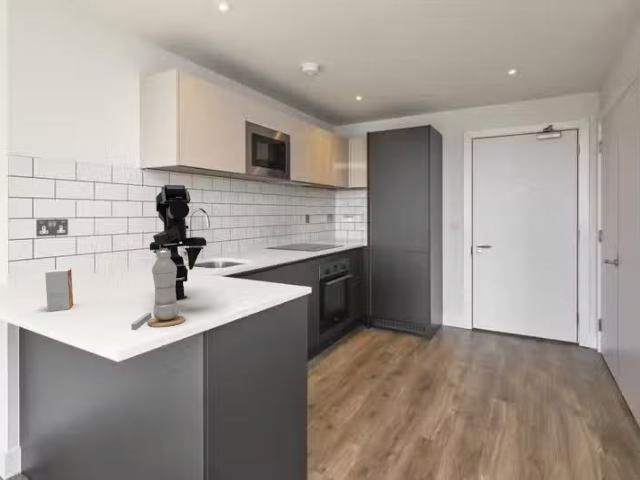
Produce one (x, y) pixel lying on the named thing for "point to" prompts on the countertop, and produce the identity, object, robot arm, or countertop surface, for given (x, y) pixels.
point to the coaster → (166, 322)
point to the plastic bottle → (165, 286)
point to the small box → (59, 289)
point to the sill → (141, 321)
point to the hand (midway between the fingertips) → (179, 270)
